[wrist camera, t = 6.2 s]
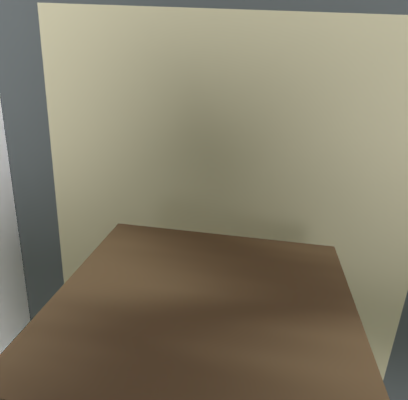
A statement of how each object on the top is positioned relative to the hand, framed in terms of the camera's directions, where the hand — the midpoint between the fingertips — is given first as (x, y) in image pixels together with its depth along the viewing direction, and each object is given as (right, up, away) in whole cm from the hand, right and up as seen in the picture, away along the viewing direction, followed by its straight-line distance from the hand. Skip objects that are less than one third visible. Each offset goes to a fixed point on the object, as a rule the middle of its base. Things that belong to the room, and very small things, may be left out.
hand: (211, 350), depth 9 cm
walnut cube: (0, 0, +1) cm, 1 cm away
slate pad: (+1, +1, +4) cm, 4 cm away
